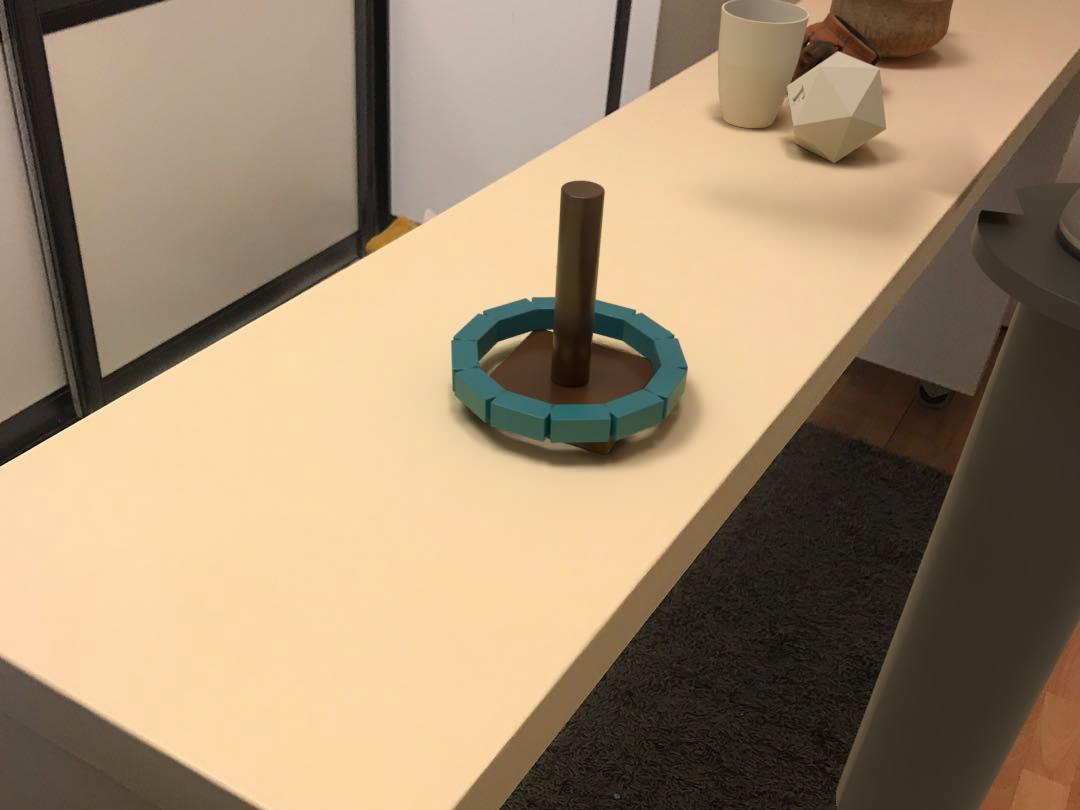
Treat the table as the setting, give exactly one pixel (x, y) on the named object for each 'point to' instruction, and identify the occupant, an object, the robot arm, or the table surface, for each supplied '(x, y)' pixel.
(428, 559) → the table surface
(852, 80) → the die
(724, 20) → the cup
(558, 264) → the post
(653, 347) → the ring
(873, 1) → the bowl
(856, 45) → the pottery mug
